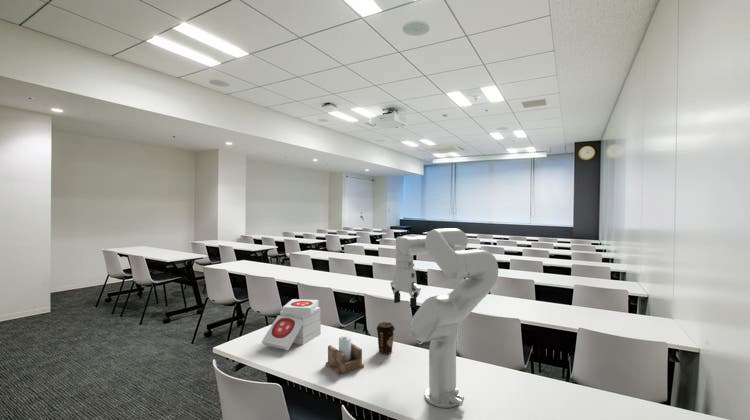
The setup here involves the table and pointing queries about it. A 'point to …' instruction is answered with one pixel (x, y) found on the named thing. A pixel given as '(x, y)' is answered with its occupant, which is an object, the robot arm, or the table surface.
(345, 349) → the roll
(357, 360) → the holder
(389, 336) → the coffee cup
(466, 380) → the table surface
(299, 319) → the pizza box stack
